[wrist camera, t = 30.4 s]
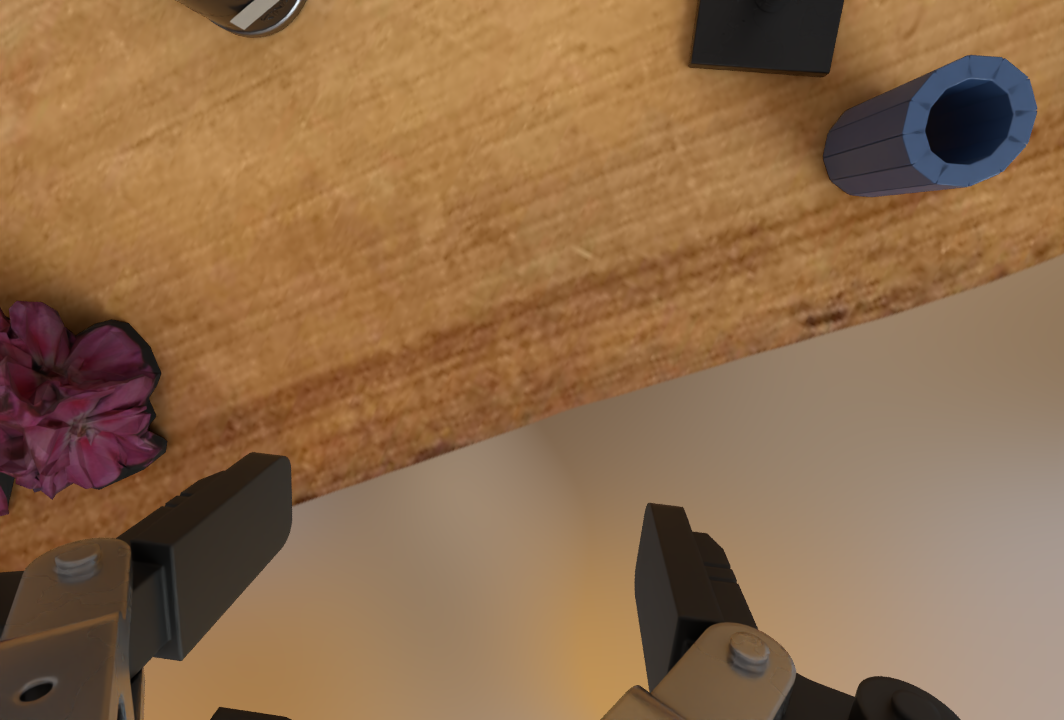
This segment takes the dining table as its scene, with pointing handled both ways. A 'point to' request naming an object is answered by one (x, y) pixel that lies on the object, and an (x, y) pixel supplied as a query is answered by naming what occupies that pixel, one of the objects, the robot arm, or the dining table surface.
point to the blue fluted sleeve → (934, 130)
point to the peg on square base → (766, 36)
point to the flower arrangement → (72, 403)
